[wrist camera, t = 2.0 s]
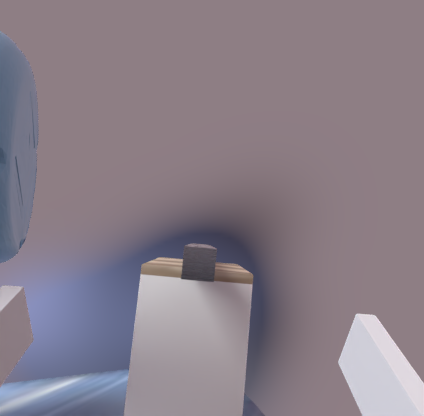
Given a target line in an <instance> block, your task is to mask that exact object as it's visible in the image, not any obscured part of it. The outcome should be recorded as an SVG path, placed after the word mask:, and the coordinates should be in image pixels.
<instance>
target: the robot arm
mask: <svg viewBox="0 0 424 416" xmlns="http://www.w3.org/2000/svg"><path fill="white" fill-rule="evenodd" d="M37 145H38V103H37V92H36V85H35V80H34V75H33V72H32V69H31V66H30V64H29V62H28V61H27V59H26V57H25V55H24V54H23V53H22V51H21V50H19V49H18V48H17V46H16V44H15V43H14V42H13V41H12V40H11V39H10V38H9V37H8V36H7V35H5V34H4V33H2V32H1V31H0V263H2V262H6V261H8V260H9V259H11V258H13V257H14V256H15V255H16V254H17V253H18V251H19V249H20V248H21V246H22V245H23V243H24V241H25V238H26V235H27V231H28V228H29V222H30V218H31V213H32V207H33V198H34V191H35V183H36V171H37V166H36V165H37V154H36V150H37ZM32 342H33V334H32V329H31V324H30V318H29V313H28V308H27V303H26V297H25V292H24V287H17V286H5V285H4V286H2V287H1V288H0V387H1V385H2V384H3V382H4V381H5V380H6V378H7V377H8V375H9V374H10V372H11V371H12V370H13V368H14V367H15V365H16V364H17V363H18V361H19V360H20V358H21V357H22V356H23V354H24V353H25V351H26V350H27V349H28V347H29V346H30V344H31V343H32ZM338 363H339V366H340V367H341V370H342V372H343V374H344V376H345V379H346V381H347V383H348V385H349V387H350V389H351V392H352V394H353V396H354V398H355V400H356V403H357V405H358V407H359V409H360V412H361V414H362V416H424V383H423V382H422V380H421V379H420V377H419V376H418V375H417V373H416V372H415V371H414V369H413V368H412V366H411V365H410V364H409V362H408V361H407V359H406V358H405V356H404V355H403V354H402V352H401V351H400V349H399V348H398V347H397V345H396V344H395V342H394V341H393V340H392V339H391V337H390V335H389V334H388V333H387V331H386V330H385V328H384V327H383V326H382V325H381V323H380V321H379V320H378V319H377V317H376V316H375V315H367V314H356V316H355V319H354V321H353V324H352V327H351V330H350V332H349V335H348V338H347V340H346V343H345V345H344V348H343V351H342V354H341V356H340V359H339V361H338Z"/></svg>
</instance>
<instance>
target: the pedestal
mask: <svg viewBox="0 0 424 416" xmlns="http://www.w3.org/2000/svg"><path fill="white" fill-rule="evenodd" d="M182 264H183V259H173V258H162V257H160V258H157V259H155V260H152V261H150V262H147V263H145V264H142V268H141V278H140V285H139V293H138V302H137V310H136V318H135V327H134V335H133V343H132V351H131V359H130V367H129V376H128V384H127V392H126V401H125V409H124V416H242V414H243V401H244V388H245V374H246V361H247V347H248V334H249V321H250V308H251V296H252V282H253V274H251V273H250V272H248V271H246V270H245V269H243V268H242V267H240V266H239V265H237V264H227V263H216V264H215V275H214V282H207V281H196V280H185V279H181V274H182Z"/></svg>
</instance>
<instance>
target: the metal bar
mask: <svg viewBox="0 0 424 416" xmlns="http://www.w3.org/2000/svg"><path fill="white" fill-rule="evenodd" d="M216 253H217V249H216V248H214V247H212V246H210V245H203V244H189V245H186V246H184V255H183V264H182V274H181V279H185V280H196V281H207V282H214V275H215V264H216Z"/></svg>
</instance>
